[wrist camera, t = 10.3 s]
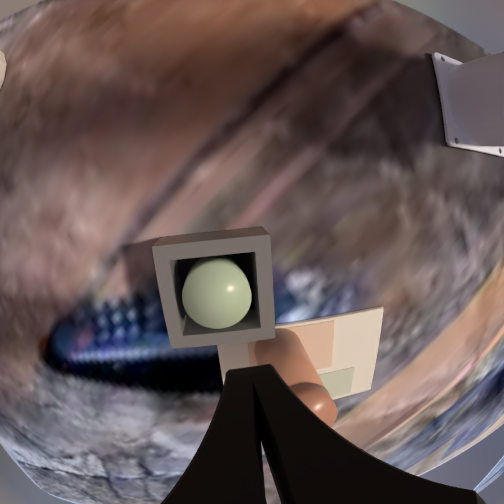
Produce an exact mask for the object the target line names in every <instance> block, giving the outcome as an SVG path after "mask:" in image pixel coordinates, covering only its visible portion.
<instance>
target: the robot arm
mask: <svg viewBox="0 0 504 504" xmlns="http://www.w3.org/2000/svg"><path fill="white" fill-rule="evenodd" d="M432 60H433V64H434V68H435V73H436V78H437V83H438V88H439V93H440V99H441V105H442V112H443V120H444V128H445V138H446V143H447V144H448V146H450V147H456V148H462V149H467V150H472V151H477V152H482V153H487V154H491V155H496V156H500V157H504V52H500V53H496V54H493V55H489V56H486V57H482V58H479V59H476V60H473V61H470V62H466V63H461V62H459V61H457V60H454V59H452V58H449V57H447V56H445V55H442V54H439V53H437V52H435V53H433V54H432ZM261 442H262V445H263V448H264V452H265V455H266V458H267V461H268V464H269V467H270V470H271V473H272V476H273V479H274V482H275V485H276V488H277V491H278V494H279V497H280V501H281V504H486V503H485V502H484V500H483V499H482V498H481V497H480V496H479V495H478V494H477V493H476V492H475V491H474V490H468V489H462V488H457V487H452V486H448V485H444V484H440V483H436V482H433V481H429V480H427V479H424V478H421V477H418V476H415V475H412V474H410V473H407V472H405V471H403V470H401V469H398V468H396V467H394V466H392V465H390V464H388V463H385V462H383V461H381V460H379V459H377V458H375V457H374V456H372V455H370V454H368V453H367V452H365V451H363V450H362V449H360V448H358V447H357V446H355V445H354V444H352V443H351V442H349V441H348V440H346V439H345V438H344V437H342V436H341V435H340V434H338V433H337V432H336V431H334V430H333V429H332V428H330V427H329V426H328V425H327V424H326V423H325V422H323V421H322V420H321V419H320V418H319V417H318V416H317V415H315V414H314V413H313V412H312V411H311V410H310V409H309V408H308V407H307V406H306V405H305V404H304V403H303V402H302V401H301V400H300V399H299V398H298V397H297V396H296V394H295V393H294V392H293V391H292V390H291V389H290V388H289V386H288V385H287V384H286V383H285V382H284V380H283V379H282V378H281V376H280V375H279V374H278V372H277V371H276V369H275V367H274V366H273V365H271V364H265V365H259V366H252V367H245V368H237V369H229V370H228V371H227V372H226V375H225V381H224V386H223V390H222V393H221V396H220V400H219V403H218V405H217V408H216V411H215V413H214V416H213V419H212V421H211V423H210V426H209V428H208V430H207V432H206V434H205V436H204V438H203V440H202V442H201V444H200V446H199V448H198V450H197V452H196V454H195V456H194V457H193V459H192V461H191V462H190V464H189V466H188V467H187V469H186V470H185V472H184V473H183V475H182V476H181V478H180V479H179V481H178V482H177V483H176V485H175V486H174V487H173V489H172V490H171V492H170V493H169V494H168V495H167V497H166V498H165V499H164V500H163V502H162V503H161V504H267V503H266V498H265V486H264V474H263V462H262V449H261Z"/></svg>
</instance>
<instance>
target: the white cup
mask: <svg viewBox="0 0 504 504" xmlns="http://www.w3.org/2000/svg"><path fill="white" fill-rule="evenodd" d="M6 66H7V64H6V60H5V56H4V53H3V52H1V51H0V89H1V87H2V84H3V82H4V77H5V71H6Z"/></svg>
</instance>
